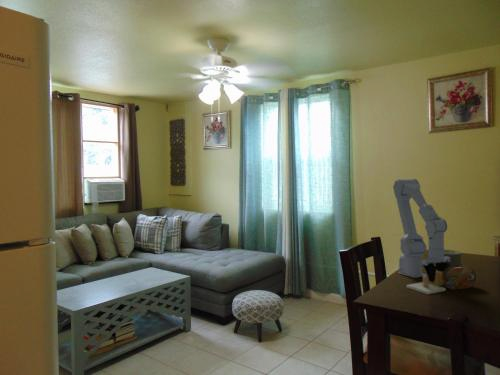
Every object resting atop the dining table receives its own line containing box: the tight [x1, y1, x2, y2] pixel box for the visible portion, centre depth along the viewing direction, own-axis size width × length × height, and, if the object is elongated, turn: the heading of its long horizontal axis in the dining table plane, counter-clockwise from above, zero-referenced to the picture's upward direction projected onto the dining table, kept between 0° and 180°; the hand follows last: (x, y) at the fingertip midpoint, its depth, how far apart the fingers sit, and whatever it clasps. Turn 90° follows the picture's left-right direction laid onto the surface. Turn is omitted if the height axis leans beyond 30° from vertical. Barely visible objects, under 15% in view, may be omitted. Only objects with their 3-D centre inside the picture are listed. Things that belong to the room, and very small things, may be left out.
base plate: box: [406, 276, 447, 295], centre depth 145 cm, size 10×10×5 cm
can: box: [434, 249, 462, 268], centre depth 183 cm, size 12×12×7 cm
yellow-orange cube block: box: [426, 269, 444, 287], centre depth 152 cm, size 5×5×5 cm
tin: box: [442, 265, 477, 291], centre depth 146 cm, size 15×3×8 cm, turn 105°
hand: (436, 280), depth 152 cm, fingers closed on yellow-orange cube block, 5 cm apart
